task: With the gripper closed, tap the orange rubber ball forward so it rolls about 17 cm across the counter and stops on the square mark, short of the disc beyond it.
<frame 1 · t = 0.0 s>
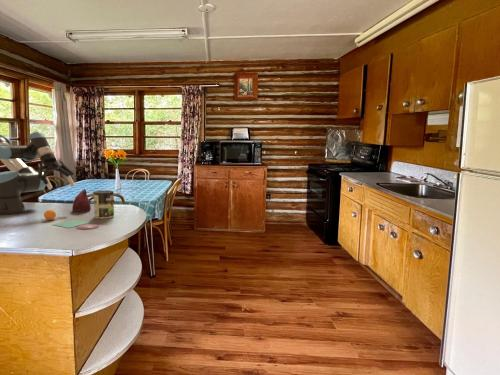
hand: (62, 187, 190), 15 cm above the countertop, tool tilted 35°, fingers open, 13 cm apart
vegetable: (81, 211, 201), on the countertop
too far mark: (87, 227, 164), on the countertop
ball: (50, 214, 176), on the countertop
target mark: (71, 224, 169), on the countertop
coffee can: (104, 216, 187), on the countertop
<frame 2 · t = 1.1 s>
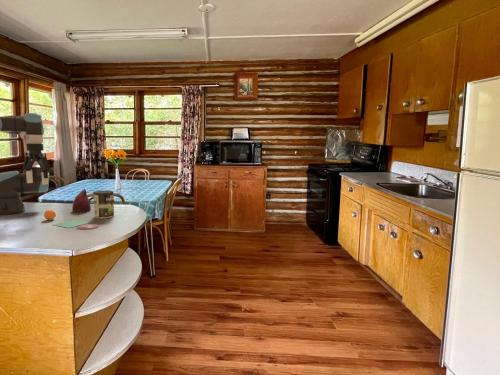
hand: (37, 183, 179), 19 cm above the countertop, tool pointing down, fingers open, 12 cm apart
nothing on the countertop moved.
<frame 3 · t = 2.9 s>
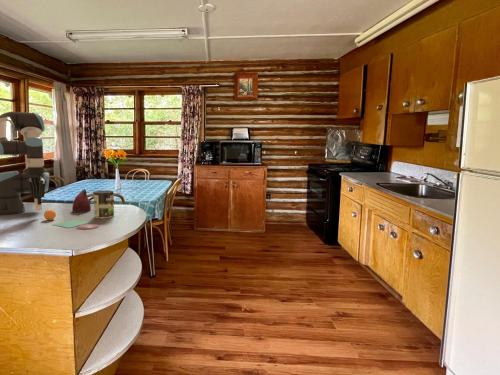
hand: (38, 210, 180), 4 cm above the countertop, tool pointing down, fingers closed
nothing on the countertop moved.
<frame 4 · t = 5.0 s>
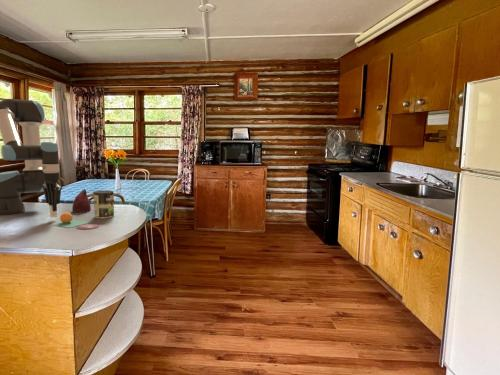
hand: (53, 217, 175), 2 cm above the countertop, tool pointing down, fingers closed
ball: (66, 217, 170), on the countertop
everything else where it was.
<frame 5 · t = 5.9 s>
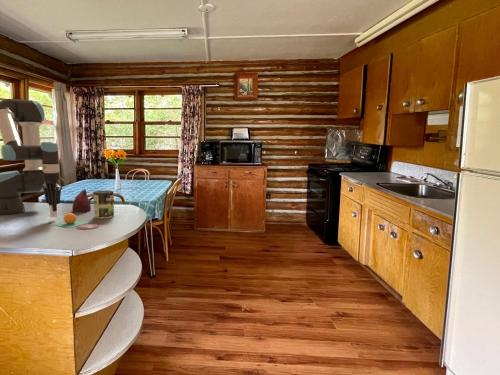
hand: (53, 217, 175), 2 cm above the countertop, tool pointing down, fingers closed
ball: (70, 218, 169), on the countertop
everything else where it was.
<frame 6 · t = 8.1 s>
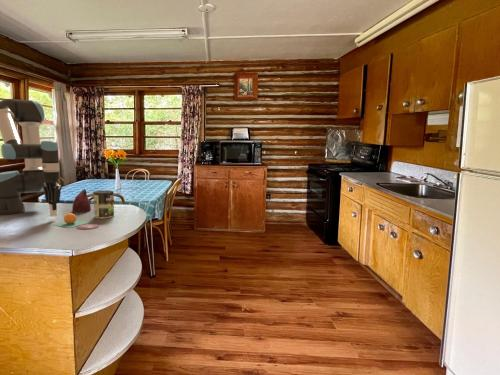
hand: (53, 215, 175), 2 cm above the countertop, tool pointing down, fingers closed
nothing on the countertop moved.
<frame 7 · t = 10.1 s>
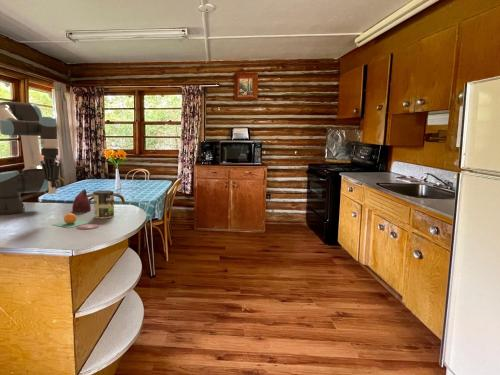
hand: (52, 193, 173), 14 cm above the countertop, tool pointing down, fingers closed
nothing on the countertop moved.
at the end: ball 0.7 cm from the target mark (horizontally); ball at rest at the end (0.0 cm/s); ball moved 16.3 cm from its start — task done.
